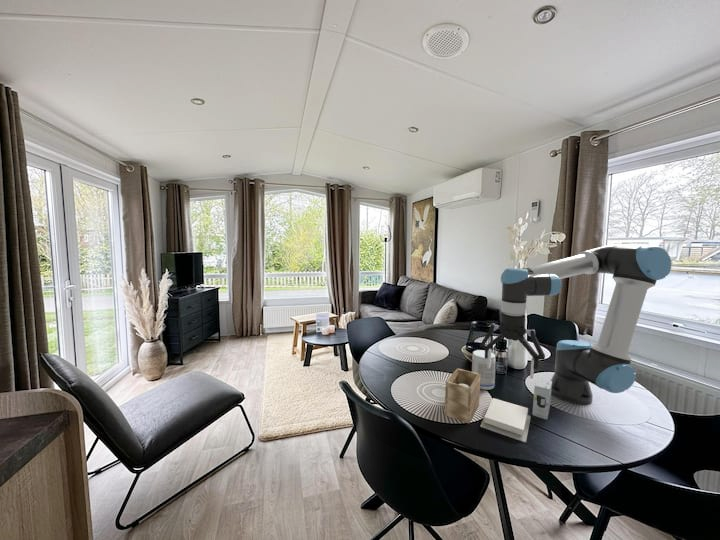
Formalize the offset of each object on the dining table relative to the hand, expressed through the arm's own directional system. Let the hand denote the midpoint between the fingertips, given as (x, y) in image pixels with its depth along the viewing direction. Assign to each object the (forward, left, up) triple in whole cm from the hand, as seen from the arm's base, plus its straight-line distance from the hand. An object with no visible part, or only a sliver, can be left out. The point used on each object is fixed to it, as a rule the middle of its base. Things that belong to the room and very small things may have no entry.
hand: (509, 371), depth 103 cm
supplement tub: (+13, -23, -19) cm, 32 cm away
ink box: (-10, -14, -19) cm, 25 cm away
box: (+15, +2, -19) cm, 24 cm away
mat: (0, 0, -19) cm, 19 cm away
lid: (0, 0, -17) cm, 17 cm away
